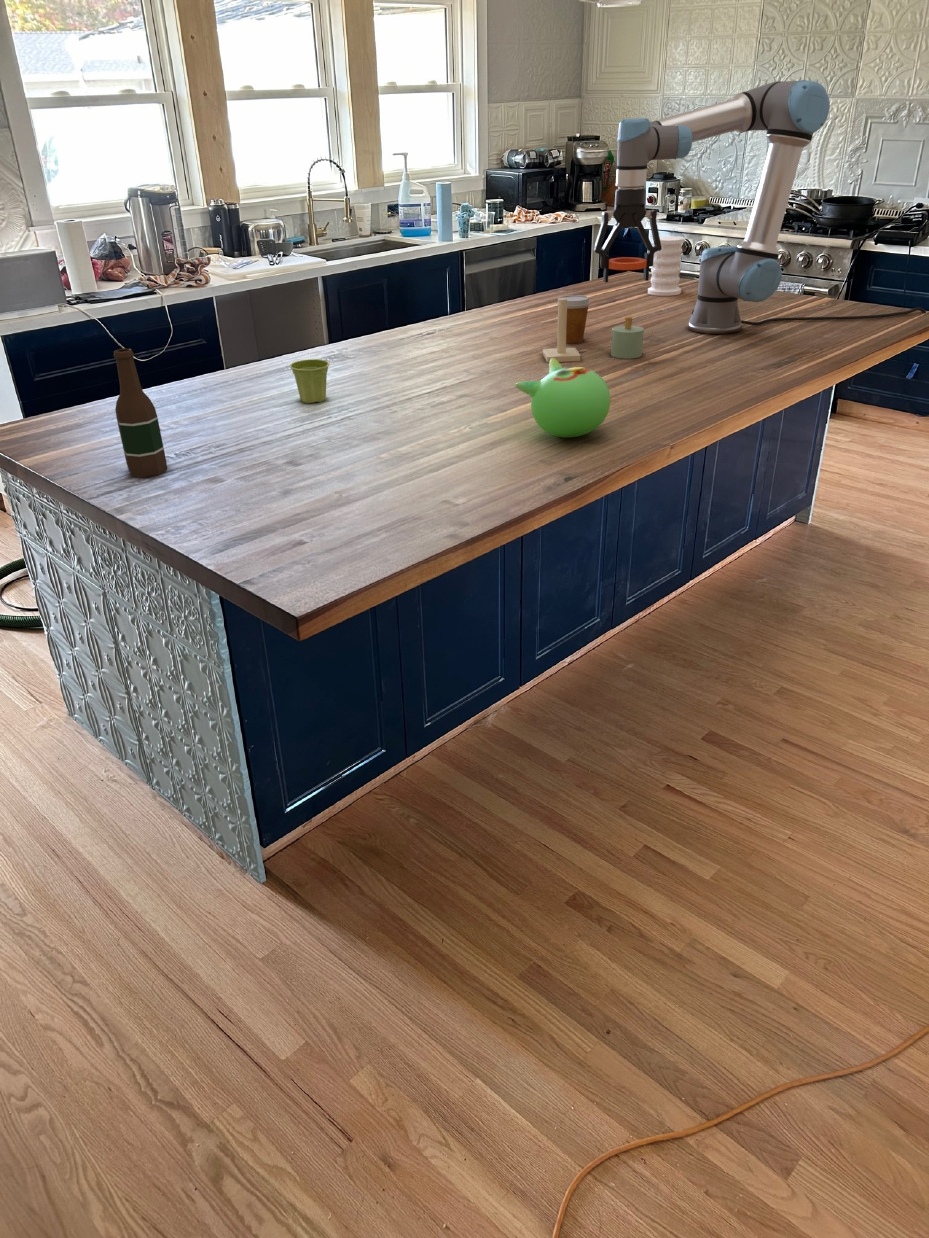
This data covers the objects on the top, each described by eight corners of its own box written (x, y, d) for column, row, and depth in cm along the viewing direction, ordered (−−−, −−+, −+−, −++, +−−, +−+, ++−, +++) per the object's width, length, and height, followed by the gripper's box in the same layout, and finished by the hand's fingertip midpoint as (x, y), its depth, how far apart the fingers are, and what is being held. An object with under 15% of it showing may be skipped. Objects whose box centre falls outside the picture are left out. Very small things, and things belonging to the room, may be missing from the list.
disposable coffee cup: (588, 336, 273) (589, 294, 267) (589, 344, 265) (590, 301, 259) (556, 337, 274) (556, 294, 268) (555, 344, 266) (556, 301, 260)
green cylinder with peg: (638, 350, 257) (640, 313, 252) (645, 358, 250) (647, 320, 245) (608, 351, 257) (610, 314, 252) (614, 359, 249) (616, 321, 244)
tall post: (575, 353, 257) (576, 295, 249) (580, 361, 249) (582, 301, 241) (542, 354, 256) (543, 296, 249) (547, 362, 248) (547, 303, 241)
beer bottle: (133, 465, 188) (106, 346, 176) (171, 463, 188) (148, 344, 176) (124, 479, 181) (96, 356, 169) (164, 477, 181) (139, 354, 169)
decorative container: (647, 295, 323) (651, 240, 314) (647, 289, 333) (651, 236, 324) (681, 296, 321) (686, 240, 312) (680, 289, 331) (684, 235, 322)
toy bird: (585, 453, 186) (587, 380, 179) (512, 440, 194) (511, 370, 187) (621, 427, 199) (625, 359, 192) (551, 417, 207) (552, 350, 200)
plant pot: (339, 395, 227) (336, 360, 222) (322, 407, 219) (318, 370, 215) (305, 393, 230) (301, 358, 225) (287, 404, 222) (282, 368, 218)
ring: (641, 263, 246) (641, 256, 245) (649, 269, 237) (650, 262, 237) (604, 264, 246) (604, 258, 245) (611, 271, 237) (611, 264, 236)
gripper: (671, 185, 236) (664, 276, 247) (583, 188, 235) (580, 280, 246) (678, 187, 229) (671, 281, 240) (588, 191, 229) (585, 285, 240)
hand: (625, 280), depth 243 cm, fingers closed on ring, 10 cm apart
